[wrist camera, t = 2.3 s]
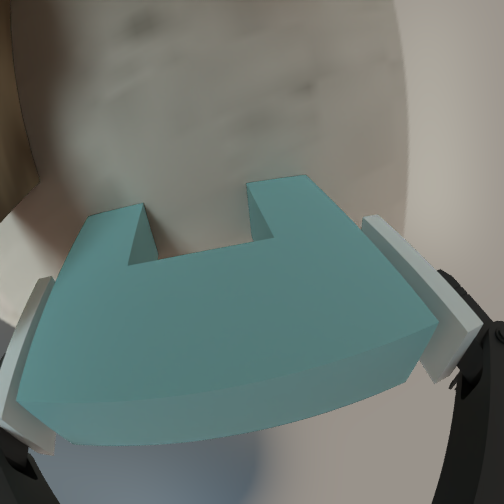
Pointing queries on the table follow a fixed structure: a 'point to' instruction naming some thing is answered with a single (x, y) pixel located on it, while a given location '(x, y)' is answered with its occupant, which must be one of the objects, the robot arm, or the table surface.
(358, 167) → the table surface
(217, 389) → the notched teal block
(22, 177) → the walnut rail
